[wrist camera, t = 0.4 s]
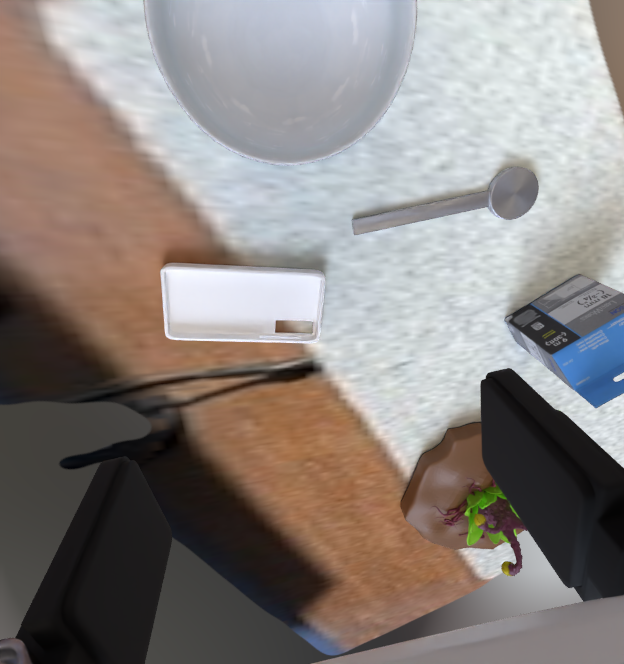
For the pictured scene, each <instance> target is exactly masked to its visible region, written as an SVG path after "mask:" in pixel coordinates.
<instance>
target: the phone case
mask: <svg viewBox="0 0 624 664" xmlns="http://www.w3.org/2000/svg"><path fill="white" fill-rule="evenodd" d="M325 281H326V278H325V276H324V274H323V272H321V271H319V270H314V269H295V268H274V267H254V266H233V265H213V264H192V263H168V264H166V265H164V266H163V268H162V269H161V285H162V298H163V312H164V325H165V335H166V337H168V338H170V339H173V340H198V341H238V342H279V343H315V342H317V341H319V339H320V331H321V321H322V311H323V301H324V291H325ZM276 320H291V321H313V329H312V333H282V332H275V324H276Z"/></svg>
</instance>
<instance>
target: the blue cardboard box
mask: <svg viewBox="0 0 624 664" xmlns="http://www.w3.org/2000/svg"><path fill="white" fill-rule="evenodd" d="M505 321H506V323H507V325H508V327H509V329H510V331H511V333H512V335H513V337H514V339H515V340H516V342H517V343H518V344H519V345H521V346H522V347H523V348H524V349H525V350H527V351H528V352H529V353H530V354H531V355H533V356H534V357H535V358H536V359H537V360H539V361H540V362H541V363H542V364H543V365H544V366H546V367H547V368H548V369H549V370H550V371H552V372H553V373H554V374H555V375H557V376H558V377H559V378H560V379H561V380H562V381H563V382H564V383H566V384H567V385H568V386H569V387H570V388H572V389H573V390H575V391H576V392H577V393H578V394H579V395H581V396H582V397H583V398H585V399H586V400H587V401H588V402H589V403H590V404H591V405H593V406H594V407H595V408H598V407H599V406H601V405H603V404H605V403H606V402H608V401H610V400H612V399H614V398H616V397H617V396H619V395H621V394H623V393H624V379H622V380H621V381H618V382H615V381H613V379H614V377H616V376H618V375H620V374H622V373H623V372H624V294H623V293H621V292H619V291H617V290H615V289H612V288H610V287H608V286H605V285H603V284H601V283H599V282H597V281H594V280H592V279H590V278H587V277H585V276H583V275H580V274H579V275H577V276H575V277H574V278H572V279H570V280H569V281H567V282H565V283H564V284H562V285H560V286H559V287H557V288H555V289H554V290H552V291H550V292H549V293H547V294H545V295H544V296H542V297H540V298H539V299H537V300H535V301H534V302H532V303H530V304H529V305H527V306H525V307H524V308H522V309H520V310H519V311H517V312H515V313H514V314H512V315H510V316H509V317H507V318H505Z"/></svg>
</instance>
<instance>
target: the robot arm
mask: <svg viewBox="0 0 624 664" xmlns="http://www.w3.org/2000/svg"><path fill="white" fill-rule="evenodd" d="M481 434H482V458H483V462H484V465H485V467H486V469H487V470H488V472H489V473H490V475H491V476H492V478H493V479H494V481H495V482H496V484H497V485H498V487H499V488H500V490H501V491H502V493H503V494H504V496H505V497H506V499H507V500H508V502H509V503H510V505H511V506H512V508H513V509H514V511H515V512H516V514H517V515H518V517H519V518H520V520H521V521H522V523H523V524H524V526H525V527H526V529H527V530H528V531H529V533H530V534H531V536H532V537H533V539H534V540H535V542H536V543H537V545H538V546H539V548H540V549H541V551H542V552H543V554H544V555H545V557H546V558H547V560H548V561H549V563H550V564H551V566H552V567H553V569H554V570H555V572H556V573H557V575H558V576H559V578H560V579H561V581H562V582H563V583H564V584H565V586H567V587H568V588H572V587H574V588H575V590H576V591H577V593H578V594H579V595H580V597H581V598H582V600H583V601H584V602H580V603H575V604H571V605H566V606H561V607H557V608H552V609H547V610H542V611H538V612H533V613H528V614H523V615H519V616H514V617H510V618H505V619H501V620H497V621H493V622H488V623H484V624H479V625H475V626H471V627H466V628H462V629H458V630H453V631H449V632H445V633H440V634H436V635H432V636H427V637H423V638H418V639H414V640H410V641H405V642H401V643H397V644H393V645H388V646H384V647H380V648H376V649H372V650H367V651H363V652H359V653H355V654H350V655H346V656H342V657H338V658H334V659H329V660H325V661H321V662H317V663H312V664H624V468H623V467H622V466H621V465H620V464H618V463H617V462H616V461H615V460H614V459H613V458H612V457H611V456H610V455H609V454H608V453H607V452H605V451H604V450H603V449H602V448H601V447H600V446H599V445H598V444H597V443H596V442H595V441H594V440H592V439H591V438H590V437H589V436H588V435H587V434H586V433H585V432H584V431H583V430H582V429H581V428H580V427H578V426H577V425H576V424H575V423H574V422H573V421H572V420H571V419H570V418H569V417H568V416H567V415H565V414H564V413H563V412H561V411H559V410H555V409H554V408H553V407H552V406H551V405H550V404H549V403H547V402H546V401H545V400H544V399H543V398H542V397H541V396H540V395H539V394H538V393H537V392H536V391H535V390H534V389H533V388H532V387H530V386H529V385H528V384H527V383H526V382H525V381H524V380H523V379H522V378H521V377H520V376H519V375H518V374H517V373H516V372H515V371H513V370H512V369H510V368H507V369H503V370H499V371H494V372H490V373H488V374H487V375H486V379H484V380H482V381H481ZM171 542H172V532H171V529H170V526H169V524H168V522H167V520H166V518H165V517H164V515H163V513H162V511H161V509H160V507H159V505H158V503H157V501H156V499H155V497H154V495H153V493H152V491H151V489H150V488H149V486H148V484H147V482H146V480H145V478H144V476H143V474H142V472H141V470H140V468H139V466H138V464H137V463H136V462H135V461H130V460H129V459H128V458H127V457H121V458H116V459H112V460H108V461H104V462H102V463H101V464H100V466H99V467H98V469H97V471H96V473H95V475H94V477H93V479H92V482H91V484H90V486H89V488H88V490H87V492H86V494H85V496H84V498H83V500H82V502H81V504H80V506H79V508H78V510H77V512H76V514H75V516H74V518H73V520H72V522H71V524H70V526H69V528H68V530H67V532H66V535H65V536H64V538H63V540H62V542H61V544H60V546H59V548H58V551H57V552H56V555H55V557H54V559H53V561H52V563H51V565H50V567H49V569H48V571H47V573H46V575H45V577H44V579H43V581H42V583H41V585H40V587H39V589H38V591H37V593H36V595H35V598H34V599H33V601H32V603H31V605H30V607H29V610H28V611H27V613H26V616H25V617H24V620H23V622H22V624H21V625H22V626H21V628H20V630H19V632H18V634H17V636H16V638H8V639H2V640H0V664H145V659H146V655H147V651H148V645H149V642H150V637H151V632H152V628H153V623H154V619H155V614H156V610H157V605H158V601H159V596H160V592H161V588H162V583H163V579H164V574H165V570H166V565H167V561H168V556H169V552H170V547H171ZM601 598H602V599H601Z"/></svg>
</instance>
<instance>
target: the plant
mask: <svg viewBox="0 0 624 664" xmlns="http://www.w3.org/2000/svg"><path fill="white" fill-rule="evenodd" d="M401 509H402V512H403V514H404V517H405V520H406V521H407V522H409V523H410V524H411V525H412V526H413V527H415V528H416V529H417V530H418V531H419V533H420V535H421V536H422V537H423V538H425V539H426V540H428V541H430V542H432V543H434V544H438V545H442V546H444V547H447V548H450V549H454V550H457V549H462V548H480V549H494V548H495V547H497V546H499V545H500V544H502V543H504V542H507V543H509V544H511V547H512V549H513V550H514V553H515V556H516V561H517V562H516V564H515V565H514V564H513V563H511V562H507V561H506V562H504V563H503V564H502V568H501V569H502V571H503V573H504V574H506V575H507V576H515V574H517V573H519V572H520V569H521V568H522V555H521V549H520V547H519V546H520V544H519V542H518V541H517V534H519V533H521V532H522V531H524V530H526V531H527V529H526V527H525V526H524V524H523V523H522V521H521V520H520V518H519V517H518V515H517V514H516V512H515V511H514V509H513V508H512V506H511V505H510V503H509V502H508V500H507V499H506V497H505V496H504V494H503V493H502V491H501V490H500V488H499V487H498V485H497V484H496V482H495V481H494V479H493V478H492V476H491V475H490V473H489V472H488V470H487V469H486V467H485V465H484V462H483V458H482V434H481V423H472V424H468V425H465V426H463V427H459V428H452V429H448V430H447V432H446V435H445V438H444V440H443V441H442V442H441V443H440V444H439V445H438V446H437V447H435V448H434V449H432V450H430V451H428V452H426V453H424V454H423V455H422V456H421V458H420V460H419V462H418V465H417V468H416V470H415V472H414V474H413V477H412V479H411V482H410V485H409V487H408V489H407V491H406V493H405V495H404V498H403V500H402V502H401Z"/></svg>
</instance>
